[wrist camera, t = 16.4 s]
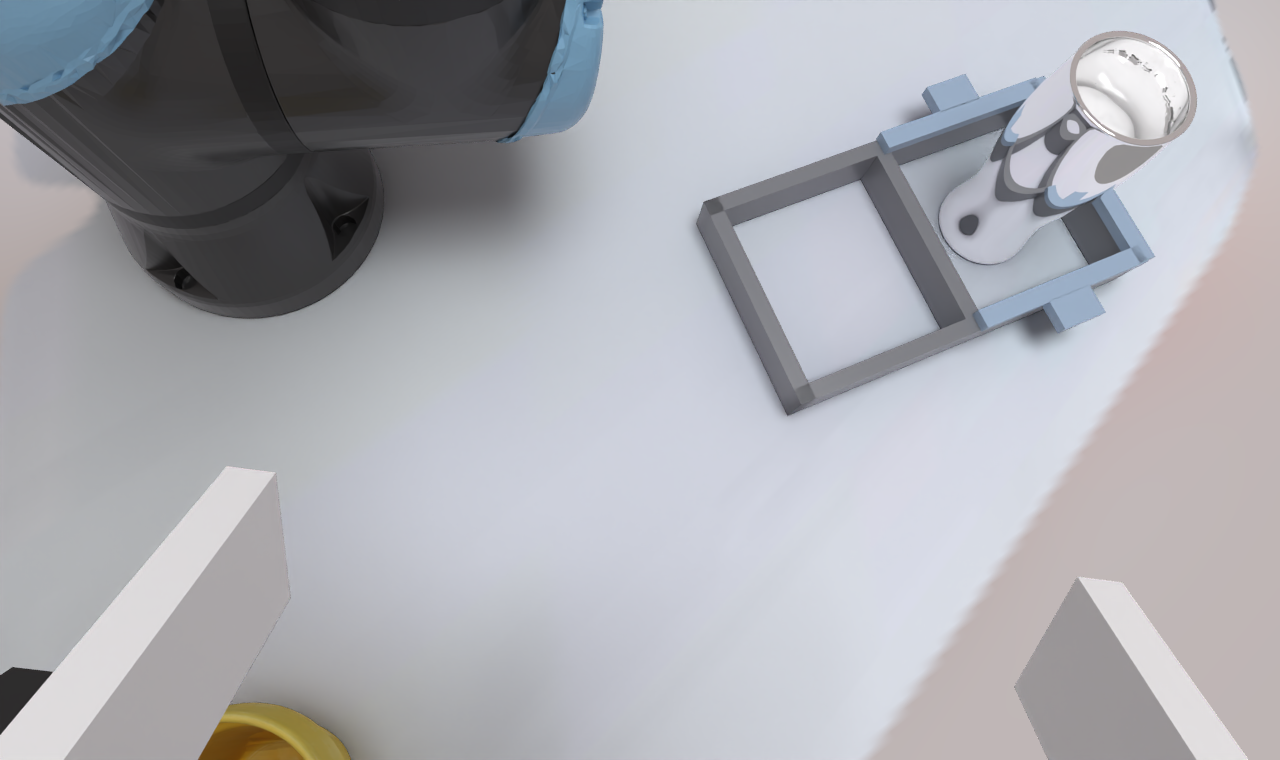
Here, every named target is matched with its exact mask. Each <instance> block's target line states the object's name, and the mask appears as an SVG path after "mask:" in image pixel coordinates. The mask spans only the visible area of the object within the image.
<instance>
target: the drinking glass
mask: <svg viewBox="0 0 1280 760" xmlns="http://www.w3.org/2000/svg"><path fill="white" fill-rule="evenodd" d="M1196 107H1197V94H1196V89H1195V85H1194V82H1193V79H1192V77H1191V75H1190V73H1189V71H1188V70H1187V68H1186V67H1185V65H1184V64H1183V63H1182V61H1181V60H1180V59H1179V58H1178V57H1177V56H1176V55H1175V54H1174V53H1173V52H1172V51H1171V50H1169V49H1168V48H1167V47H1166V46H1164V45H1163V44H1161V43H1159V42H1158V41H1156V40H1154V39H1152V38H1150V37H1147V36H1145V35H1142V34H1138V33H1134V32H1128V31H1112V32H1106V33H1102V34H1099V35H1096V36H1094V37H1092V38H1090V39H1089V40H1087V41H1086V42H1085V43H1084V44H1082V45H1081V46H1080V48H1079V49H1078V50H1077V51H1076V52H1075V53H1074V54H1073V55H1072V56H1071V57H1069V58H1068V59H1067V60H1066V61H1065V62H1064V63H1063V64H1061V65H1060V66H1059V67H1058V68H1057V69H1056V70H1055V71H1054V72H1053V73H1052V74H1051V75H1049V76H1048V77H1047V78H1046V79H1045V80H1044V81H1043V82H1042V83H1041V84H1040V85H1039V86H1038V87H1037V88H1036V89H1035V90H1034V91H1033V92H1032V93H1031V95H1030V96H1029V97H1028V98H1027V99H1026V100H1025V102H1024V103H1023V104H1022V105H1021V106H1020V108H1019V109H1018V110H1017V111H1016V112H1015V114H1014V115H1013V117H1012V118H1011V120H1010V121H1009V123H1008V124H1007V126H1006V127H1005V129H1004V130H1003V132H1002V134H1001V135H1000V137H999V139H998V140H997V142H996V144H995V145H994V147H993V149H992V151H991V152H990V154H989V156H988V158H987V159H986V161H985V163H984V164H983V166H982V168H981V169H980V170H979V171H978V173H977V174H976V175H974V176H973V177H971V178H970V179H968V180H967V181H965V182H963V183H962V184H960V185H959V186H957V187H956V188H954V189H953V190H952V191H951V192H950V193H949V194H948V195H947V196H946V198H945V199H944V201H943V203H942V205H941V207H940V211H939V224H940V229H941V232H942V234H943V236H944V238H945V240H946V242H947V243H948V244H949V246H950V247H951V248H952V249H953V250H954V251H955V252H956V253H958V254H959V255H960V256H962V257H964V258H965V259H967V260H970V261H972V262H975V263H979V264H998V263H1001V262H1004V261H1006V260H1009V259H1010V258H1012V257H1013V256H1015V255H1016V254H1017V253H1018V252H1019V251H1020V250H1021V249H1022V247H1023V246H1024V245H1025V244H1026V242H1027V241H1028V240H1029V238H1030V237H1031V236H1032V235H1033V233H1034V232H1036V231H1037V230H1038V229H1039V228H1041V227H1043V226H1044V225H1046V224H1048V223H1050V222H1052V221H1054V220H1056V219H1059V218H1061V217H1063V216H1065V215H1068V214H1070V213H1072V212H1074V211H1076V210H1078V209H1080V208H1083V207H1085V206H1087V205H1088V204H1090V203H1092V202H1094V201H1096V200H1098V199H1099V198H1101V197H1103V196H1105V195H1107V194H1108V193H1110V192H1111V191H1112V190H1114V189H1115V188H1117V187H1118V186H1120V185H1121V184H1123V183H1124V182H1126V181H1127V180H1128V179H1129V178H1131V177H1132V176H1133V175H1134V174H1136V173H1137V172H1138V171H1139V170H1141V169H1142V168H1143V167H1144V166H1145V165H1147V164H1148V163H1149V162H1150V161H1151V160H1152V159H1153V158H1155V157H1156V156H1157V155H1158V154H1159V153H1160V152H1161V151H1162V150H1163V149H1164V148H1166V147H1167V146H1168V145H1169V144H1170V143H1171V142H1172V141H1173V140H1174V139H1176V138H1177V137H1179V136H1180V135H1181V134H1183V133H1184V132H1185V131H1186V129H1187V128H1188V127H1189V126H1190V124H1191V122H1192V120H1193V118H1194V116H1195V112H1196Z"/></svg>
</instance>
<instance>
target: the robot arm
mask: <svg viewBox="0 0 1280 760" xmlns="http://www.w3.org/2000/svg"><path fill="white" fill-rule="evenodd" d="M602 4H603V0H0V118H1V119H2V120H3V121H5V122H6V123H7V124H9V125H10V126H11V127H12V128H14V129H15V130H16V131H17V132H19V133H20V134H21V135H23V136H24V137H25V138H26V139H28V140H29V141H30V142H32V143H33V144H34V145H36V146H37V147H38V148H39V149H41V150H42V151H43V152H45V153H46V154H47V155H48V156H50V157H51V158H52V159H54V160H55V161H56V162H57V163H59V164H60V165H61V166H63V167H64V168H65V169H66V170H68V171H69V172H70V173H72V174H73V175H74V176H75V177H77V178H78V179H79V180H81V181H82V182H83V183H84V184H86V185H87V186H88V187H90V188H91V189H92V190H93V191H95V192H96V193H97V194H99V195H100V196H101V197H102V198H104V199H105V200H106V203H107V205H108V207H109V209H110V211H111V214H112V216H113V218H114V220H115V222H116V225H117V227H118V229H119V231H120V233H121V236H122V238H123V240H124V242H125V244H126V246H127V248H128V250H129V251H130V253H131V254H132V256H133V257H134V259H135V260H136V261H137V262H138V264H139V265H140V266H141V267H142V268H143V270H144V271H145V272H146V273H147V274H148V275H149V276H151V277H152V278H153V279H154V280H155V281H156V282H158V283H159V284H161V285H162V286H163V287H165V288H166V289H167V290H169V291H170V292H172V293H173V294H174V295H176V296H177V297H178V298H180V299H182V300H183V301H185V302H187V303H189V304H191V305H193V306H195V307H197V308H200V309H202V310H205V311H208V312H211V313H215V314H219V315H224V316H229V317H239V318H259V317H269V316H275V315H280V314H284V313H288V312H291V311H295V310H298V309H300V308H303V307H305V306H308V305H310V304H312V303H314V302H316V301H318V300H320V299H322V298H323V297H325V296H326V295H328V294H330V293H331V292H333V291H334V290H335V289H337V288H338V287H339V286H340V285H342V284H343V283H344V282H345V281H346V280H347V279H348V278H349V277H350V276H351V275H352V274H353V273H354V272H355V271H356V270H357V269H358V268H359V266H360V265H361V264H362V262H363V261H364V260H365V258H366V256H367V255H368V253H369V252H370V250H371V248H372V246H373V244H374V242H375V240H376V237H377V235H378V232H379V229H380V225H381V221H382V216H383V207H384V194H383V185H382V180H381V176H380V173H379V170H378V167H377V165H376V162H375V160H374V158H373V156H372V154H371V152H370V150H369V149H370V148H384V147H398V146H414V145H432V144H450V143H468V142H486V141H496V142H498V143H510V142H515V141H518V140H520V139H521V138H522V137H528V136H536V135H543V134H551V133H558V132H562V131H565V130H567V129H569V128H571V127H572V126H574V125H575V124H576V123H577V122H578V121H579V120H580V119H581V118H582V117H583V115H584V114H585V112H586V110H587V109H588V107H589V104H590V102H591V99H592V96H593V93H594V90H595V86H596V81H597V76H598V71H599V65H600V59H601V51H602V41H603V26H604V25H603V17H602V12H601V7H602ZM290 598H291V597H290V588H289V580H288V571H287V563H286V554H285V546H284V537H283V529H282V520H281V512H280V504H279V495H278V487H277V478H276V472H268V471H261V470H253V469H245V468H237V467H230V466H226V468H225V469H224V470H223V471H222V472H221V473H220V475H219V476H218V477H217V478H216V479H215V481H214V482H213V483H212V484H211V485H210V487H209V488H208V489H207V490H206V491H205V492H204V494H203V495H202V496H201V497H200V498H199V500H198V501H197V502H196V503H195V504H194V506H193V507H192V508H191V509H190V510H189V512H188V513H187V514H186V515H185V516H184V517H183V519H182V520H181V521H180V522H179V523H178V525H177V526H176V527H175V528H174V529H173V531H172V532H171V533H170V534H169V535H168V536H167V538H166V539H165V540H164V541H163V542H162V544H161V545H160V546H159V547H158V548H157V550H156V551H155V552H154V553H153V554H152V555H151V557H150V558H149V559H148V560H147V561H146V563H145V564H144V565H143V566H142V567H141V569H140V570H139V571H138V572H137V573H136V574H135V576H134V577H133V578H132V579H131V580H130V582H129V583H128V584H127V585H126V586H125V588H124V589H123V590H122V591H121V592H120V593H119V595H118V596H117V597H116V598H115V599H114V601H113V602H112V603H111V604H110V605H109V607H108V608H107V609H106V610H105V611H104V612H103V614H102V615H101V616H100V617H99V618H98V620H97V621H96V622H95V623H94V624H93V626H92V627H91V628H90V629H89V630H88V631H87V633H86V634H85V635H84V636H83V637H82V639H81V640H80V641H79V642H78V643H77V645H76V646H75V647H74V648H73V649H72V650H71V652H70V653H69V654H68V655H67V656H66V658H65V659H64V660H63V661H62V662H61V664H60V665H59V666H58V667H57V668H56V669H55V671H54V672H49V671H41V670H32V669H24V668H15V667H12V668H11V669H9V670H8V671H6V672H5V673H3V674H2V675H0V760H198V758H199V756H200V755H201V753H202V751H203V749H204V748H205V746H206V744H207V743H208V741H209V739H210V737H211V736H212V734H213V732H214V730H215V729H216V727H217V725H218V723H219V722H220V720H221V718H222V716H223V715H224V713H225V711H226V709H227V708H228V706H229V704H230V702H231V701H232V699H233V697H234V696H235V694H236V692H237V690H238V689H239V687H240V685H241V683H242V682H243V680H244V678H245V676H246V675H247V673H248V671H249V669H250V668H251V666H252V664H253V662H254V661H255V659H256V657H257V656H258V654H259V652H260V650H261V649H262V647H263V645H264V643H265V642H266V640H267V638H268V636H269V635H270V633H271V631H272V629H273V628H274V626H275V624H276V622H277V621H278V619H279V617H280V615H281V614H282V612H283V610H284V609H285V607H286V605H287V603H288V602H289V600H290ZM1014 688H1015V690H1016V692H1017V694H1018V696H1019V698H1020V700H1021V703H1022V705H1023V707H1024V709H1025V711H1026V713H1027V716H1028V718H1029V720H1030V722H1031V724H1032V726H1033V728H1034V731H1035V733H1036V735H1037V737H1038V739H1039V741H1040V743H1041V745H1042V748H1043V750H1044V752H1045V754H1046V756H1047V758H1048V760H1248V758H1247V757H1246V756H1245V754H1244V753H1243V751H1242V750H1241V748H1240V747H1239V746H1238V744H1237V743H1236V741H1235V740H1234V739H1233V737H1232V736H1231V735H1230V733H1229V732H1228V730H1227V729H1226V727H1225V726H1224V725H1223V723H1222V722H1221V720H1220V719H1219V718H1218V716H1217V715H1216V713H1215V712H1214V711H1213V710H1212V708H1211V706H1210V705H1209V704H1208V702H1207V701H1206V700H1205V698H1204V697H1203V695H1202V694H1201V692H1200V691H1199V690H1198V688H1197V687H1196V686H1195V684H1194V683H1193V681H1192V680H1191V679H1190V677H1189V676H1188V674H1187V673H1186V671H1185V670H1184V669H1183V667H1182V666H1181V664H1180V663H1179V662H1178V660H1177V659H1176V657H1175V656H1174V655H1173V653H1172V652H1171V650H1170V649H1169V647H1168V646H1167V645H1166V643H1165V642H1164V640H1163V639H1162V638H1161V636H1160V635H1159V633H1158V632H1157V631H1156V629H1155V628H1154V627H1153V625H1152V624H1151V622H1150V621H1149V620H1148V618H1147V617H1146V615H1145V614H1144V612H1143V611H1142V610H1141V608H1140V607H1139V605H1138V604H1137V603H1136V601H1135V600H1134V599H1133V597H1132V596H1131V594H1130V593H1129V591H1128V590H1127V589H1126V587H1125V586H1124V585H1123V583H1122V582H1115V581H1108V580H1100V579H1092V578H1083V577H1077V578H1076V580H1075V582H1074V584H1073V585H1072V587H1071V589H1070V591H1069V592H1068V594H1067V596H1066V597H1065V599H1064V601H1063V603H1062V605H1061V606H1060V608H1059V610H1058V611H1057V613H1056V615H1055V617H1054V618H1053V620H1052V622H1051V624H1050V625H1049V627H1048V629H1047V630H1046V632H1045V634H1044V636H1043V637H1042V639H1041V641H1040V643H1039V645H1038V646H1037V648H1036V650H1035V651H1034V653H1033V655H1032V656H1031V658H1030V660H1029V662H1028V664H1027V665H1026V667H1025V669H1024V670H1023V672H1022V674H1021V676H1020V677H1019V679H1018V681H1017V683H1016V685H1015V686H1014Z"/></svg>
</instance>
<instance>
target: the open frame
mask: <svg viewBox="0 0 1280 760" xmlns="http://www.w3.org/2000/svg"><path fill="white" fill-rule="evenodd" d="M1045 79H1046V78H1045V77H1044V76H1043V77H1040V78H1033V79H1030V80H1027V81H1024V82H1022V83H1019V84H1016V85H1013V86H1010V87H1007V88H1005V89H1002V90H999V91H996V92H993V93H990V94H988V95H985V96H982V97H979V96H978V94H977V93H976V91H975V89H974V88H973V86H972V84H971V82H970V81H969V79H968V77H967V76H966V74H964V75H961V76H958V77H955V78H952V79H949V80H947V81H944V82H941V83H938V84H935V85H932V86H929V87H927V88H926V89H925V91H924V92H923V94H922V96H923V98H924V100H925V102H926V103H927V105H928V107H929V109H930V110H931V112H932V114H931V115H928V116H925V117H922V118H920V119H917V120H914V121H911V122H908V123H905V124H903V125H900V126H897V127H894V128H891V129H888V130H886V131H883V132H881V133H880V134H879V136H878V137H877V139H876V140H877V141H874V142H871V143H868V144H865V145H863V146H860V147H857V148H854V149H851V150H849V151H846V152H843V153H840V154H837V155H834V156H832V157H829V158H826V159H823V160H820V161H818V162H815V163H812V164H809V165H806V166H804V167H801V168H798V169H795V170H792V171H789V172H787V173H784V174H781V175H778V176H775V177H773V178H770V179H767V180H764V181H761V182H758V183H756V184H753V185H750V186H747V187H744V188H742V189H739V190H736V191H733V192H730V193H727V194H725V195H722V196H719V197H716V198H713V199H711V200H708V201H705V202H703V205H702V208H701V211H700V214H699V218H698V221H697V226H698V228H699V230H700V232H701V234H702V237H703V239H704V241H705V243H706V245H707V247H708V249H709V251H710V253H711V255H712V258H713V260H714V262H715V264H716V266H717V268H718V270H719V272H720V274H721V276H722V279H723V281H724V283H725V285H726V287H727V289H728V291H729V293H730V295H731V298H732V300H733V302H734V304H735V306H736V308H737V310H738V312H739V314H740V316H741V319H742V321H743V323H744V325H745V327H746V329H747V331H748V333H749V335H750V338H751V340H752V342H753V344H754V346H755V348H756V350H757V352H758V354H759V356H760V359H761V361H762V363H763V365H764V367H765V369H766V371H767V373H768V375H769V377H770V380H771V382H772V384H773V386H774V388H775V390H776V392H777V394H778V396H779V399H780V401H781V403H782V405H783V407H784V409H785V411H786V413H787V415H790V414H793V413H795V412H798V411H800V410H802V409H805V408H807V407H810V406H812V405H814V404H817V403H819V402H822V401H824V400H826V399H829V398H831V397H834V396H836V395H838V394H841V393H843V392H846V391H848V390H850V389H853V388H855V387H858V386H860V385H863V384H865V383H867V382H870V381H872V380H875V379H877V378H879V377H882V376H884V375H887V374H889V373H891V372H894V371H896V370H899V369H901V368H903V367H906V366H908V365H911V364H913V363H915V362H918V361H920V360H923V359H925V358H927V357H930V356H932V355H935V354H937V353H939V352H942V351H944V350H947V349H949V348H951V347H954V346H956V345H959V344H961V343H963V342H966V341H968V340H971V339H973V338H975V337H978V336H980V335H983V334H985V333H987V332H990V331H992V330H995V329H997V328H1000V327H1002V326H1004V325H1007V324H1009V323H1012V322H1014V321H1016V320H1019V319H1021V318H1024V317H1026V316H1028V315H1031V314H1033V313H1036V312H1038V311H1040V310H1043V309H1044V310H1045V312H1046V314H1047V316H1048V317H1049V319H1050V321H1051V323H1052V324H1053V326H1054V328H1055V330H1056V331H1057V333H1060V332H1062V331H1065V330H1067V329H1069V328H1072V327H1074V326H1076V325H1079V324H1081V323H1083V322H1086V321H1088V320H1091V319H1093V318H1095V317H1098V316H1099V315H1101V314H1103V313H1105V310H1104V308H1103V307H1102V305H1101V303H1100V302H1099V300H1098V298H1097V297H1096V295H1095V293H1094V291H1093V290H1092V289H1093V288H1096V287H1098V286H1100V285H1103V284H1105V283H1108V282H1110V281H1112V280H1114V279H1116V278H1118V277H1120V276H1121V275H1123V274H1125V273H1127V272H1129V271H1130V270H1132V269H1134V268H1136V267H1139V266H1141V265H1142V264H1144V263H1146V262H1148V260H1150V259H1152V258H1153V257H1155V256H1154V254H1153V252H1152V251H1151V249H1150V247H1149V246H1148V244H1147V243H1146V241H1145V239H1144V238H1143V236H1142V234H1141V233H1140V231H1139V229H1138V228H1137V226H1136V225H1135V223H1134V221H1133V220H1132V218H1131V216H1130V215H1129V213H1128V212H1127V210H1126V208H1125V207H1124V205H1123V203H1122V202H1121V200H1120V199H1119V197H1118V195H1117V194H1116V192H1115V190H1112V191H1111V192H1110V193H1108V194H1107V195H1105V196H1103V197H1101V198H1099V199H1098V200H1096V201H1094V202H1092V203H1090V204H1088V205H1087V206H1085V207H1083V208H1080V209H1078V210H1076V211H1074V212H1072V213H1070V214H1068V215H1065V216H1063V217H1061V218H1062V220H1063V221H1064V223H1065V225H1066V226H1067V228H1068V230H1069V231H1070V233H1071V235H1072V236H1073V238H1074V240H1075V241H1076V243H1077V245H1078V247H1079V248H1080V250H1081V252H1082V253H1083V255H1084V257H1085V258H1086V260H1087V262H1088V263H1089V265H1087V266H1085V267H1083V268H1080V269H1078V270H1075V271H1073V272H1070V273H1068V274H1065V275H1063V276H1061V277H1058V278H1056V279H1053V280H1051V281H1048V282H1046V283H1043V284H1041V285H1039V286H1036V287H1034V288H1031V289H1029V290H1026V291H1024V292H1021V293H1019V294H1017V295H1014V296H1012V297H1009V298H1007V299H1004V300H1002V301H999V302H997V303H995V304H992V305H990V306H987V307H985V308H982V309H980V310H978V309H977V307H976V305H975V304H974V302H973V300H972V298H971V296H970V295H969V293H968V291H967V289H966V287H965V285H964V284H963V282H962V280H961V278H960V276H959V274H958V273H957V271H956V269H955V267H954V265H953V264H952V262H951V260H950V258H949V256H948V254H947V253H946V251H945V249H944V247H943V245H942V244H941V242H940V240H939V238H938V236H937V234H936V233H935V231H934V229H933V227H932V225H931V224H930V222H929V220H928V218H927V216H926V214H925V213H924V211H923V209H922V207H921V205H920V204H919V202H918V200H917V198H916V196H915V194H914V193H913V191H912V189H911V187H910V185H909V184H908V182H907V180H906V178H905V176H904V174H903V173H902V171H901V169H900V167H899V165H901V164H904V163H907V162H910V161H912V160H915V159H918V158H921V157H923V156H926V155H929V154H932V153H934V152H937V151H940V150H943V149H945V148H948V147H951V146H954V145H956V144H959V143H962V142H965V141H967V140H970V139H973V138H976V137H978V136H981V135H984V134H987V133H989V132H992V131H995V130H998V129H1000V128H1003V127H1006V126H1007V124H1008V123H1009V121H1010V120H1011V118H1012V117H1013V115H1014V114H1015V112H1016V111H1017V110H1018V109H1019V108H1020V106H1021V105H1022V104H1023V103H1024V102H1025V100H1026V99H1027V98H1028V97H1029V96H1030V95H1031V93H1032V92H1033V91H1034V90H1035V89H1036V88H1037V87H1038V86H1039V85H1040V84H1041V83H1042V82H1043V81H1044V80H1045ZM860 179H861V181H862V182H863V184H864V186H865V188H866V190H867V192H868V194H869V196H870V197H871V199H872V201H873V203H874V205H875V207H876V209H877V210H878V212H879V214H880V216H881V218H882V220H883V222H884V224H885V225H886V227H887V229H888V231H889V233H890V235H891V237H892V238H893V240H894V242H895V244H896V246H897V248H898V250H899V252H900V253H901V255H902V257H903V259H904V261H905V263H906V265H907V267H908V268H909V270H910V272H911V274H912V276H913V278H914V280H915V281H916V283H917V285H918V287H919V289H920V291H921V293H922V295H923V296H924V298H925V300H926V302H927V304H928V306H929V308H930V310H931V311H932V313H933V315H934V317H935V319H936V321H937V323H938V324H939V326H940V328H941V329H940V330H937V331H935V332H932V333H930V334H928V335H925V336H923V337H920V338H918V339H915V340H913V341H911V342H908V343H906V344H903V345H901V346H898V347H896V348H893V349H891V350H889V351H886V352H884V353H881V354H879V355H876V356H874V357H872V358H869V359H867V360H864V361H862V362H859V363H857V364H854V365H852V366H850V367H847V368H845V369H842V370H840V371H837V372H835V373H833V374H830V375H828V376H825V377H823V378H820V379H818V380H815V381H813V382H811V383H808V381H807V379H806V377H805V375H804V373H803V371H802V369H801V366H800V364H799V362H798V360H797V358H796V356H795V354H794V352H793V350H792V348H791V346H790V344H789V342H788V340H787V338H786V336H785V334H784V331H783V329H782V327H781V325H780V323H779V321H778V319H777V317H776V315H775V313H774V311H773V309H772V307H771V305H770V303H769V301H768V299H767V297H766V294H765V292H764V290H763V288H762V286H761V284H760V282H759V280H758V278H757V276H756V274H755V272H754V270H753V268H752V266H751V264H750V262H749V259H748V257H747V255H746V253H745V251H744V249H743V247H742V245H741V243H740V241H739V239H738V237H737V235H736V233H735V231H734V229H733V227H732V226H734V225H736V224H739V223H742V222H745V221H747V220H750V219H753V218H756V217H758V216H761V215H764V214H767V213H769V212H772V211H775V210H778V209H780V208H783V207H786V206H789V205H791V204H794V203H797V202H800V201H802V200H805V199H808V198H811V197H813V196H816V195H819V194H822V193H824V192H827V191H830V190H833V189H835V188H838V187H841V186H844V185H846V184H849V183H852V182H855V181H857V180H860Z"/></svg>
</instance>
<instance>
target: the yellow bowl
mask: <svg viewBox="0 0 1280 760" xmlns="http://www.w3.org/2000/svg"><path fill="white" fill-rule="evenodd" d="M198 760H351V758H350V756H349V754H348V752H347V750H346V748H345V746H344V745H343V744H342V742H341V741H340V740H339V739H338V738H337V737H336V736H335V735H333V734H332V733H331V732H329V731H328V730H326V729H325V728H323V727H320V726H319V725H317V724H316V723H315V722H313V721H312V720H310V719H309V718H308V717H306V716H304V715H302V714H300V713H298V712H296V711H294V710H292V709H289V708H285V707H282V706H279V705H274V704H268V703H240V704H232V705H229V706H228V708H227V709H226V711H225V713H224V715H223V716H222V718H221V720H220V722H219V723H218V725H217V727H216V729H215V730H214V732H213V734H212V736H211V737H210V739H209V741H208V743H207V744H206V746H205V748H204V749H203V751H202V753H201V755H200V756H199V758H198Z"/></svg>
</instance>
